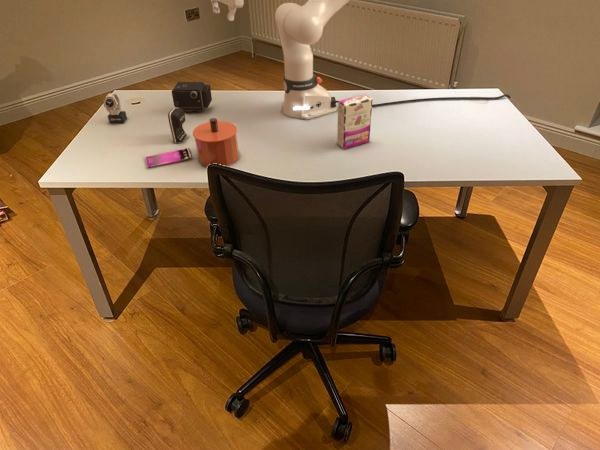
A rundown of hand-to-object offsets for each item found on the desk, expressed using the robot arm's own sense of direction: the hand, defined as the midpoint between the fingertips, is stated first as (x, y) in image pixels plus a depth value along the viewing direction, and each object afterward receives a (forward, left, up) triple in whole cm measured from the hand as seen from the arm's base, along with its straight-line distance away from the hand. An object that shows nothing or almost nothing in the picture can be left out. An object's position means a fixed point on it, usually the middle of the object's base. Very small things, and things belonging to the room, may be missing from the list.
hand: (223, 16), depth 145 cm
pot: (+12, +22, -39) cm, 46 cm away
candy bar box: (-35, +31, -39) cm, 61 cm away
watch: (+43, -21, -39) cm, 62 cm away
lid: (+12, +22, -30) cm, 39 cm away
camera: (+13, -19, -39) cm, 46 cm away
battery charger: (+22, +4, -39) cm, 45 cm away
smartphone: (+28, +17, -39) cm, 51 cm away
